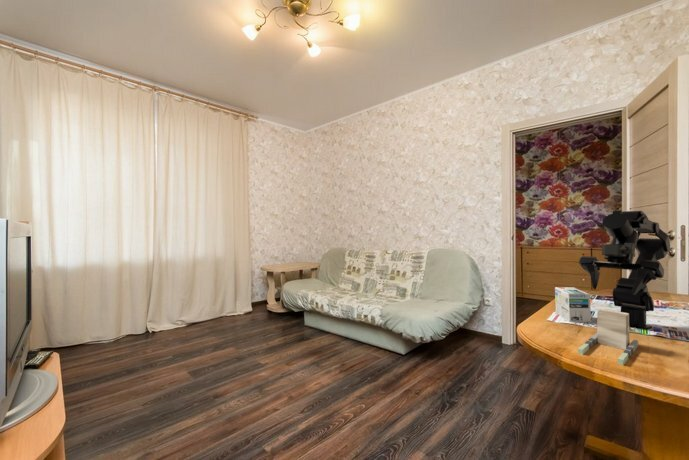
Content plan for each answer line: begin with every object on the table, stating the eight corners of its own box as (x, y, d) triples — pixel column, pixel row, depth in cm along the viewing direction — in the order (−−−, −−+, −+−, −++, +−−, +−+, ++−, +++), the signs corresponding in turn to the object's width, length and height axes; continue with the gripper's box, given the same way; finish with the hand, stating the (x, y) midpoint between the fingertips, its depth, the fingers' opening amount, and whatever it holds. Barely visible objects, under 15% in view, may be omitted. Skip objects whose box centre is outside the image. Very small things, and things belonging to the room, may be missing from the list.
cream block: (601, 339, 89) (601, 308, 89) (629, 345, 85) (629, 313, 84) (597, 343, 87) (597, 311, 87) (626, 350, 82) (625, 316, 82)
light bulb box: (591, 325, 103) (591, 293, 103) (569, 325, 105) (568, 293, 104) (574, 315, 114) (574, 286, 113) (554, 315, 115) (553, 286, 115)
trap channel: (597, 339, 92) (597, 332, 92) (638, 348, 85) (638, 340, 85) (578, 357, 81) (578, 348, 81) (623, 369, 74) (623, 360, 74)
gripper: (578, 232, 100) (566, 274, 95) (658, 232, 84) (649, 284, 80) (590, 249, 105) (579, 290, 101) (668, 252, 89) (659, 302, 85)
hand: (613, 291), depth 91 cm, fingers open, 9 cm apart
